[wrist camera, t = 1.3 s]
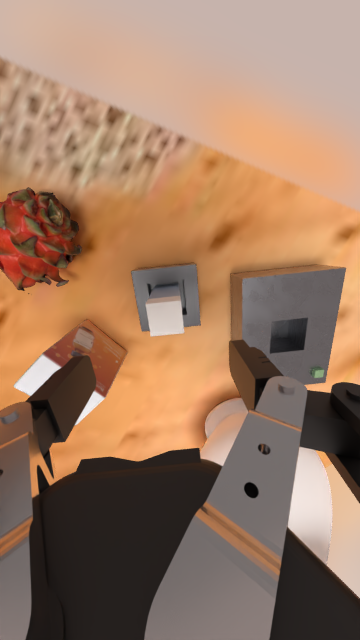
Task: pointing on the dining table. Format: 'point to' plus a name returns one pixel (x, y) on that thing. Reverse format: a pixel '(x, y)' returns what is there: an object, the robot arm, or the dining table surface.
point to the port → (289, 316)
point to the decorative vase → (309, 486)
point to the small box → (78, 343)
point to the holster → (168, 275)
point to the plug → (165, 310)
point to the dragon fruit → (35, 238)
